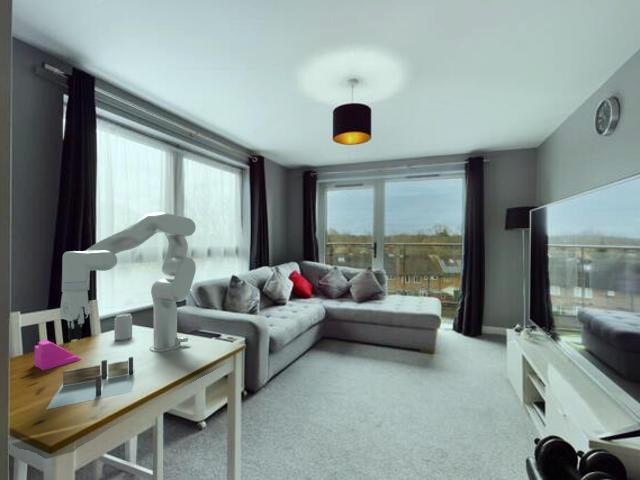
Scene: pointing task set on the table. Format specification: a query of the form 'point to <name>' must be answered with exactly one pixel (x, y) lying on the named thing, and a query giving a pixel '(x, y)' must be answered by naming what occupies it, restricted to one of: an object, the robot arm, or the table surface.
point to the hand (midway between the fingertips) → (74, 338)
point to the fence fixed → (113, 371)
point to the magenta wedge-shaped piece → (52, 355)
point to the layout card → (91, 390)
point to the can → (123, 326)
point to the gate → (80, 375)
